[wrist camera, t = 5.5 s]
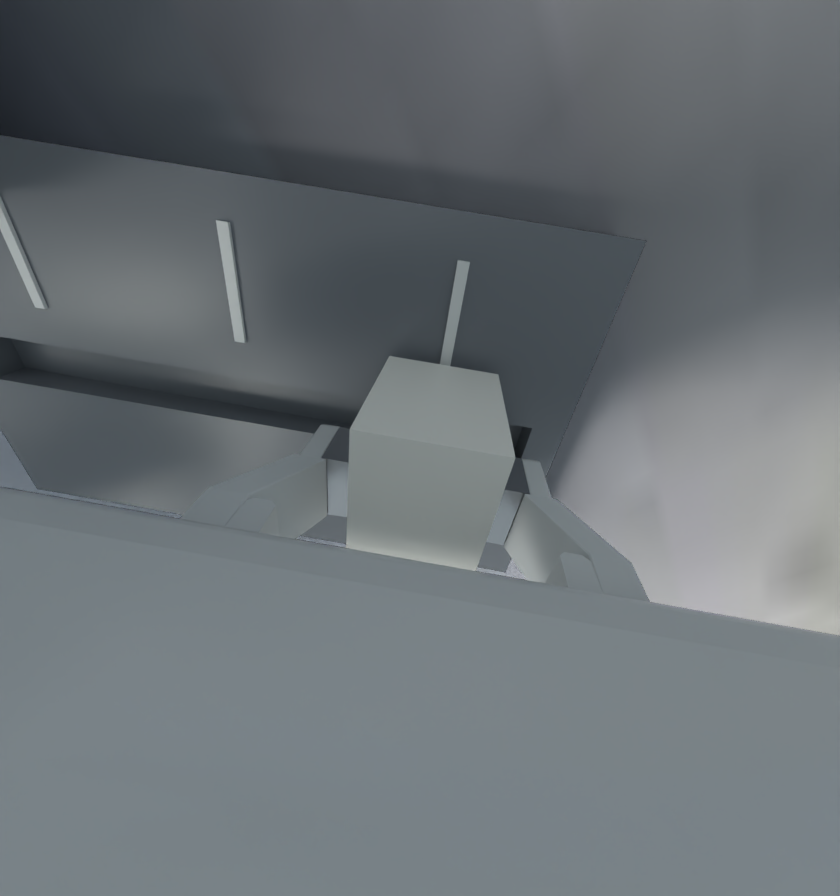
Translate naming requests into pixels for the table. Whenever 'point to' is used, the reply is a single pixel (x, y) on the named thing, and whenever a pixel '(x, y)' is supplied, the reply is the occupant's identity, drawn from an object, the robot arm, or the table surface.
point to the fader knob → (428, 463)
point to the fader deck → (264, 319)
